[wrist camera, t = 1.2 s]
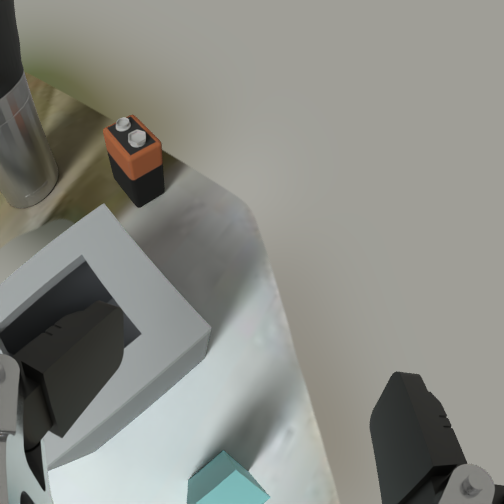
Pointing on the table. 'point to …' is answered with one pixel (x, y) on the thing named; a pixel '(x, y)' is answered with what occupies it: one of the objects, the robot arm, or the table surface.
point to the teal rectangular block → (224, 484)
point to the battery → (135, 159)
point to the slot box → (135, 323)
